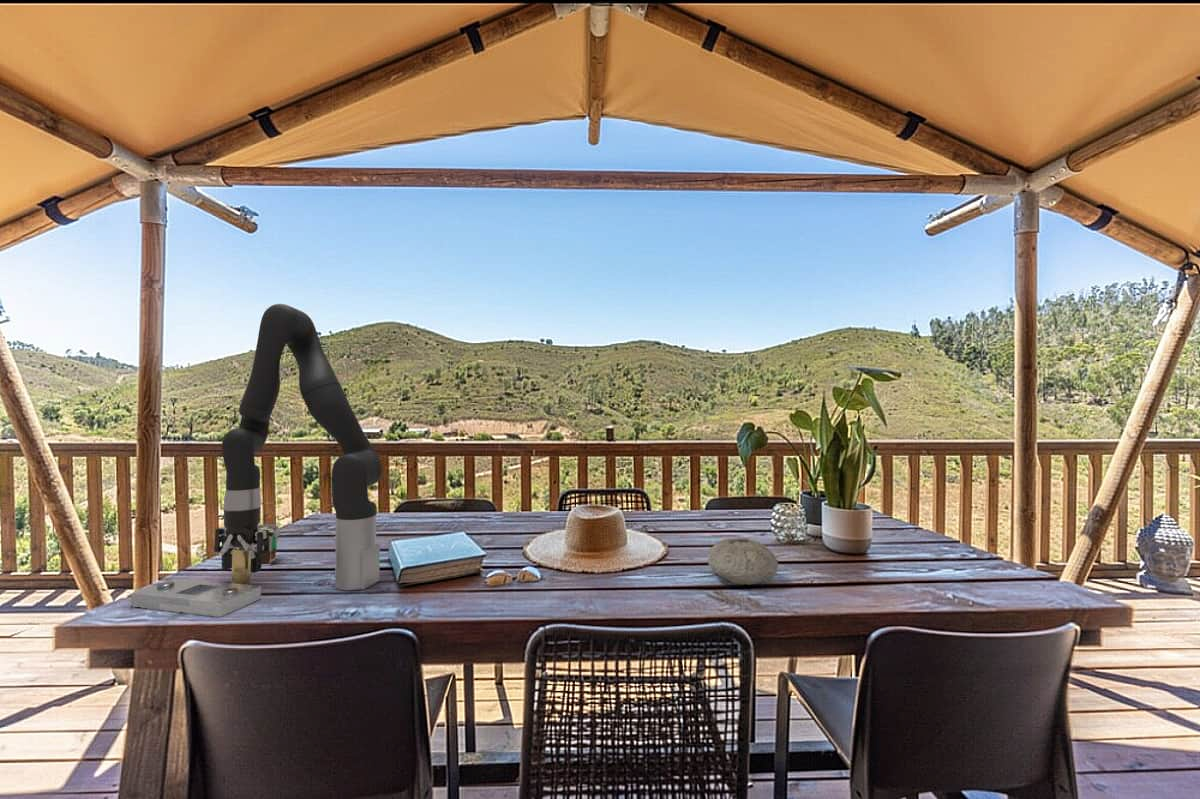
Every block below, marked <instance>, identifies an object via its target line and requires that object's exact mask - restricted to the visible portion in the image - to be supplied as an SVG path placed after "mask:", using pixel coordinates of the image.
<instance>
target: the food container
mask: <svg viewBox="0 0 1200 799" xmlns="http://www.w3.org/2000/svg"><path fill="white" fill-rule="evenodd" d="M257 528H258V531H265V530H268V531H269V553H268V554H265V555H263V556H262V564H269V565H270V564H272V563H274V562H276V557H277V556H276V554H277V546H278V537H279V536H281V534H282V533H281V529H280V528H279V525H276V524H258V526H257ZM252 545H254V543H253V544H252ZM252 545H250V546H252ZM263 550H264V546H263ZM254 551H255V553H256V550H255V549H254ZM274 564H275V563H274ZM272 565H273V564H272ZM270 566H271V565H270Z"/></svg>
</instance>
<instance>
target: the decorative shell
mask: <svg viewBox="0 0 1200 799" xmlns="http://www.w3.org/2000/svg"><path fill="white" fill-rule="evenodd" d="M707 563H708V566H709V567H710V569H711V570H712V572H713V573H715V574H716V575H718V576H719V577H722V578H724V579H725V580H727V581H729V582H731V583H733V584H738V585H739V584H740V585H744V584H747V585H748V586H749V585H753V584H755V585H756V584H759V583H760V584H761V583H764V582H765V581H769V580H772V579H774V577H775V576H776V575H777V573H778V570H779V565H778V563H779V560H778V559H777V558H776V557H775V555H774V553H773V551H771V549H770V548H768V547H767V546H766V545H765V544H763V543H761V542H759V541H756V540H753V539H751V538H749V537H748V538H746V537H736V538H728V539H727V538H725V539H722V540H720V541H717V542H715V543H714V545H713V546H712V547H710V548H709V552H708V555H707ZM747 585H746V586H747Z"/></svg>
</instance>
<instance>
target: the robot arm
mask: <svg viewBox="0 0 1200 799" xmlns="http://www.w3.org/2000/svg"><path fill="white" fill-rule="evenodd" d="M285 346H287V347H288V349H290V350H289V351H291V353H292V354H293V357H294V359H295V361H296V363H297V366H298V386H299V392H300V396H301V398H302V399H303V402H304V404H305V406H306V408H307V410H308V412H309V413H310V415H311V416H312V418H313V419H314V421H316V422H317V423H318V424H319V425H320V426H321V428H323V430H325V431H326V432H327V433H328V434H330V436H332V438H333V439H334V440H335V442H336V443H337V444H338V446H339V448H340V450H341V451H342V453H343V455H340V456H339V457H338V458H337V459H336V460H335V462H334V463H333V464H332V469H331V477H330V478H331V500H332V501H331V502H332V506H333V508H334V511H335V551H334V552H335V554H334V556H335V557H334V558H335V560H334V561H335V562H334V564H335V566H334V567H335V568H334V575H335V576H334V577H335V578H334V580H335V581H334V583H335V584H334V585H335V586H334V587H335V589H336V590H340V591H354V590H355V591H356V590H365V589H367V588H369V587H371V586H373V585H375V584H376V583H378V582H380V559H381V558H380V557H381V556H380V555H381V554H380V552H381V551H380V549H381V546H380V543H377V510H378V509H377V503H375V502H374V501H371V500H370V498H369V494H368V493H369V492H368V491H369V490H368V487H370V486H373V485H375V484H377V483H378V482H379V481H380V480H381V478H382V477H383V476H382V475H383V471H384V468H383V462H382V461H381V459H380V457H379V454H378V453H377V452H376V450H375V448H374V447H373V445H372V444H371V442H370V440H369V439H368V437H367V436H366V434H365V432H364V431H363V429H362V427H361V424H360V422H359V420H358V418H357V416H356V414H355V413H354V411H353V408H352V407H351V404H350V402H349V400H348V398H347V396H346V394H345V391H344V390H343V387H342V385H341V383H340V381H339V379H338V377H337V376H336V374H335V371H334V369H333V368H332V365H331V363H330V362H329V359H328V358H327V356H326V354H325V352H324V349H323V347H322V343H321V340H320V337H319V336H318V332H317V329H316V326H315V324H314V322H313V320H312V319H311V317H310V316H309V315H308V314H307V313H306V312H303V311H302V310H299V309H298V308H295V307H293V306H290V305H287V304H284V303H276V304H273V305H271V306H269V307H268V308H266V310H265V311H264V313H263V315H262V317H261V321H260V325H259V329H258V337H257V343H256V347H255V353H254V359H253V363H252V367H251V368H252V369H251V372H250V374H249V375H250V376H249V380H248V382H247V385H246V388H245V390H244V393H243V396H242V398H241V401H240V404H239V407H238V413H239V415H240V416H241V418H240V422H239V426H238V427H236V428H232V429H230V430H228V431H227V432H226V433H225V435H224V436H223V439H222V441H221V455H222V459H223V460H222V461H223V465H224V468H225V471H226V473H225V474H226V475H225V476H226V477H225V492H224V500H223V501H224V502H223V503H224V504H223V527H219V528H216V529H215V532H214V533H215V534H214V543H213V544H214V548H213V551H214V552H215V553H219V555H220V556H221V570H223V571H228V570H232V549H233V548H236V547H240V548H244V549H245V551H247V552H249V554H250V556H251V557H252V558H251V568H250V572H251V574H256V573H258V572H260V571H261V569H262V566H263V565H262V556H263V555H265V554H268V553H269V531H268V530H265V531H258V528H257V526H258V525H260V523H261V516H262V515H261V512H262V511H261V509H262V508H261V506H262V505H261V504H262V502H261V501H262V497H261V496H262V495H261V494H262V493H261V469H260V467H259V466H258V465H257V464H256V462H255V461H256V460H255V453H258V452H259V451H260V450H262V448H263V447H264V445H265V443H266V441H267V439H268V434H269V428H270V422H271V416H272V414H273V410H274V408H275V405H276V403H277V400H278V397H279V393H280V389H281V375H280V368H281V367H280V365H281V358H282V354H283V351H284V348H285ZM253 543H254V545H252V544H253ZM250 545H252V546H250ZM263 546H264V550H263ZM254 549H255V550H256V553H255V551H254Z"/></svg>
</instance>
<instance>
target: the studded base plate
mask: <svg viewBox="0 0 1200 799" xmlns="http://www.w3.org/2000/svg"><path fill="white" fill-rule="evenodd" d="M258 599H260V600H262V586H261V585H253V584H249V585H244V584H234V583H232V582H221V581H211V580H210V581H208V580H201V579H200V580H199V579H191V578H190V579H189V578H180V577H179V578H173V579H171V580H167V581H165V582H161V583H158V584H156V585H153V586H149V587H147V588H144V589H141V590H138V591H134V592H131V593H130V607H131V606H133V607H132V608H135V607H141V608H140V609H143V608H147V609H146V610H152V609H156V610H155V611H161V610H164V611H163V612H170V611H175V612H174V613H179V612H183V613H182V614H188V613H190V614H191V615H199V616H207V617H208V616H209V617H214V618H215V617H216V618H221V617H223V616H226V615H228V614H230V613H232V612H235V611H238V610H240V609H241V608H244V607H247V606H248V605H250V603H251V604H253V603H255V602H257V601H256V600H258ZM254 601H255V602H254ZM258 601H259V600H258ZM252 602H253V603H252Z"/></svg>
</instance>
